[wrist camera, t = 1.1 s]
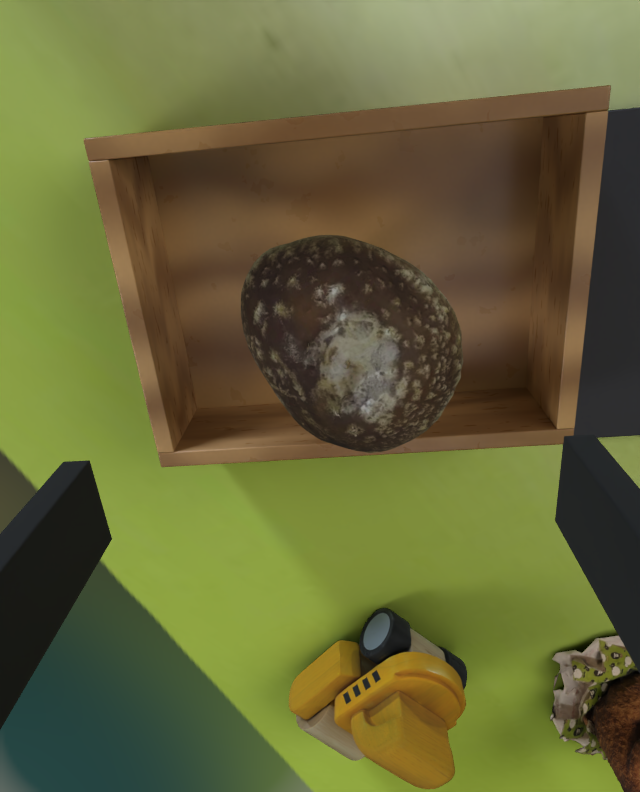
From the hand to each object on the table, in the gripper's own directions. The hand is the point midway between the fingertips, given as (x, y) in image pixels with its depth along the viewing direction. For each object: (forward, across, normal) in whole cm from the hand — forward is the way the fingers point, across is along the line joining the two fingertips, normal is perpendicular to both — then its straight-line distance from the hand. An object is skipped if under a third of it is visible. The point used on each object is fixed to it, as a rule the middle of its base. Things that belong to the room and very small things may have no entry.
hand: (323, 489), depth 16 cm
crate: (+22, +1, +1) cm, 22 cm away
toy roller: (+22, +1, -32) cm, 39 cm away
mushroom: (+22, +1, +1) cm, 22 cm away
